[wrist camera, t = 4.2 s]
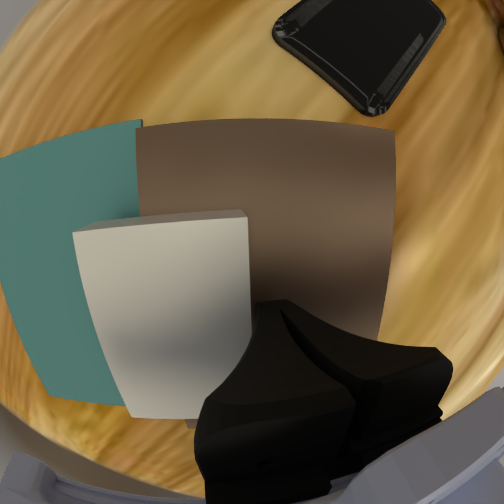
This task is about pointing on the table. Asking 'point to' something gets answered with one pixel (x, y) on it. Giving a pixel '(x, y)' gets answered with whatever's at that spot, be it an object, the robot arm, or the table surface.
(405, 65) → the phone
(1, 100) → the table surface
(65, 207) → the mat
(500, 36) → the lamp
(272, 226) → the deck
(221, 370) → the white rectangular block
